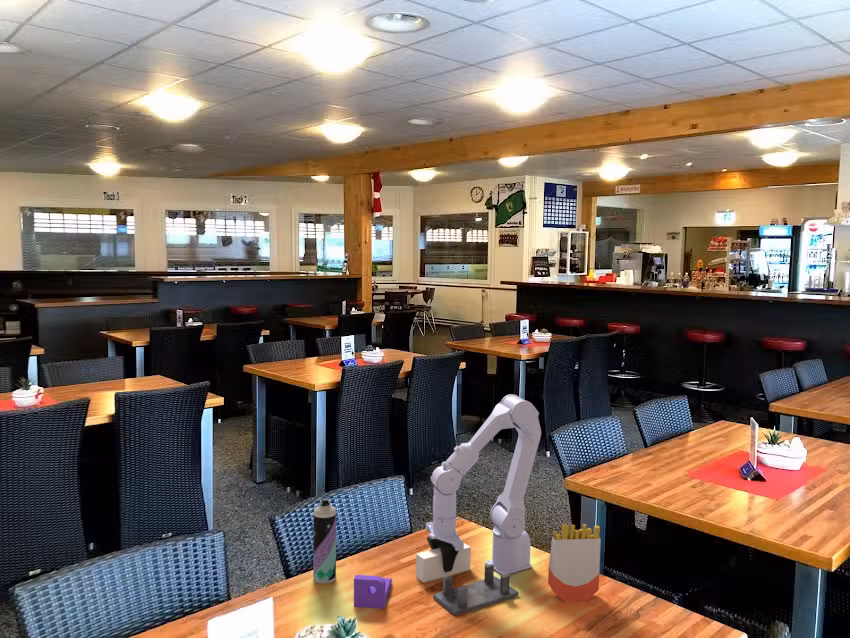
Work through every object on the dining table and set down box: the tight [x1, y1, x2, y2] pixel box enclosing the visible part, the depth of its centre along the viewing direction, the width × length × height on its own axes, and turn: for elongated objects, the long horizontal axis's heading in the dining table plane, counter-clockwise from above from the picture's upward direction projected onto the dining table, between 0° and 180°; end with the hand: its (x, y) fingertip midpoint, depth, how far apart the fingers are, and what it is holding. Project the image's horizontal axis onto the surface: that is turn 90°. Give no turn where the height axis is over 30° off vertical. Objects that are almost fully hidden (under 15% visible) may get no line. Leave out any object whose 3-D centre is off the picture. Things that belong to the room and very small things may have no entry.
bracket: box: [353, 574, 393, 610], centre depth 157 cm, size 12×7×7 cm, turn 174°
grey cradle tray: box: [432, 564, 520, 617], centre depth 156 cm, size 18×9×5 cm, turn 121°
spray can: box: [312, 498, 337, 585], centre depth 163 cm, size 6×6×20 cm
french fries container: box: [547, 523, 602, 602], centre depth 157 cm, size 5×11×18 cm, turn 95°
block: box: [415, 542, 472, 583], centre depth 168 cm, size 14×4×6 cm, turn 122°
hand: (443, 567), depth 168 cm, fingers closed on block, 3 cm apart
